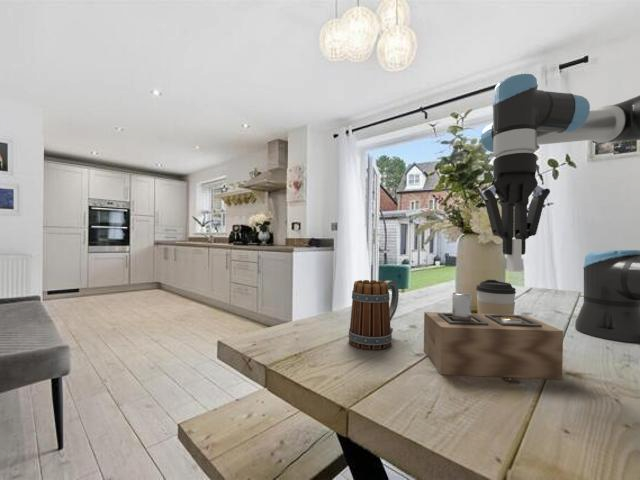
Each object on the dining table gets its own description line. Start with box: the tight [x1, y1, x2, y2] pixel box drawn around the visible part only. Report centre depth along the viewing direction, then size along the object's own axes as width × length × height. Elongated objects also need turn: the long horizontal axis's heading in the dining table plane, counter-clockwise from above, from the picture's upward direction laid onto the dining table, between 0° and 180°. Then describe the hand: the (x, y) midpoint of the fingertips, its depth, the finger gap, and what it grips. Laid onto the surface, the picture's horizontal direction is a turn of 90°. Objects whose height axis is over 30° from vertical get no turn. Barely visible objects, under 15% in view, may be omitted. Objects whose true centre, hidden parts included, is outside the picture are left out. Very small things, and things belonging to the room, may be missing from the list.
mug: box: [348, 279, 400, 351], centre depth 77 cm, size 16×11×15 cm
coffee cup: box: [475, 279, 517, 315], centre depth 80 cm, size 9×9×15 cm
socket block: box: [423, 311, 564, 380], centre depth 64 cm, size 22×12×9 cm, turn 86°
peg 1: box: [451, 291, 472, 322], centre depth 64 cm, size 4×4×8 cm
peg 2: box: [501, 317, 522, 323], centre depth 63 cm, size 4×4×8 cm
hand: (513, 270), depth 63 cm, fingers closed
